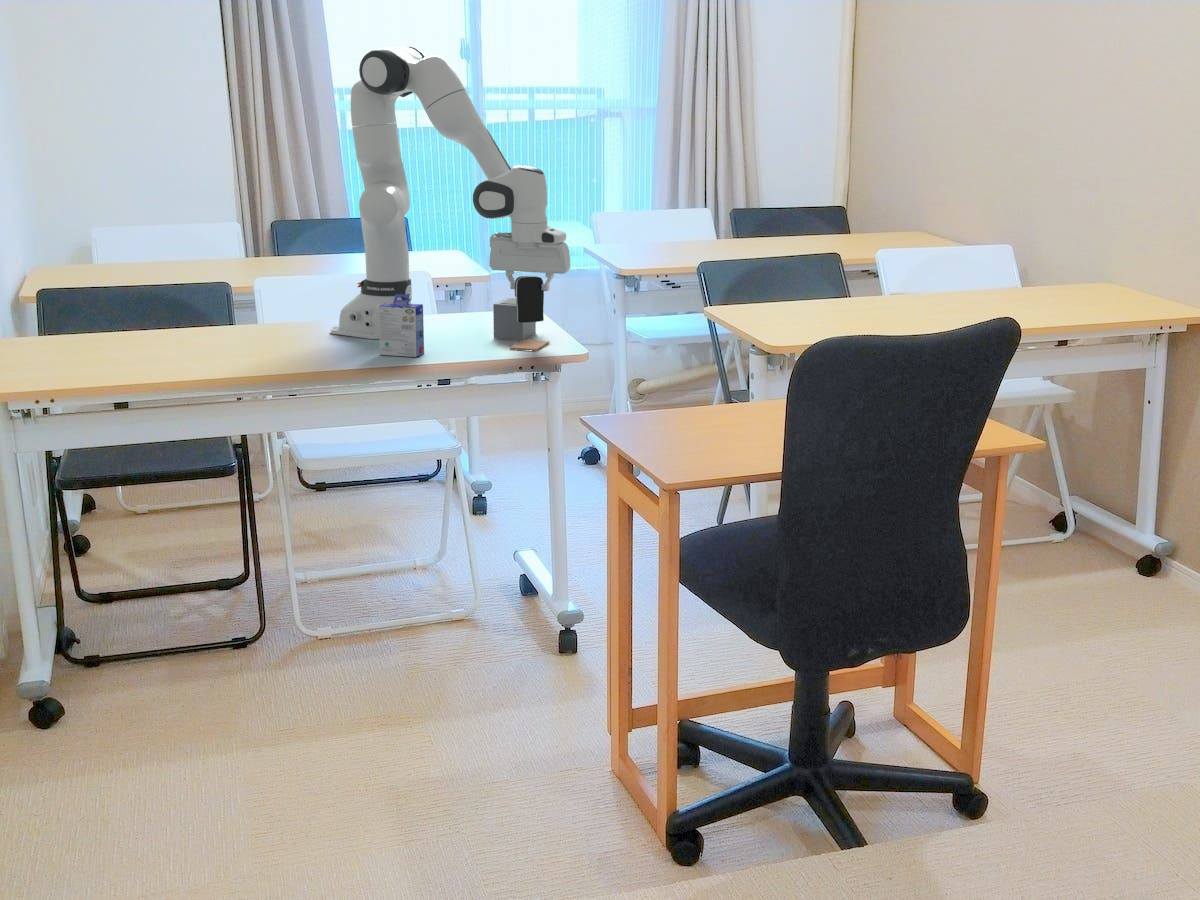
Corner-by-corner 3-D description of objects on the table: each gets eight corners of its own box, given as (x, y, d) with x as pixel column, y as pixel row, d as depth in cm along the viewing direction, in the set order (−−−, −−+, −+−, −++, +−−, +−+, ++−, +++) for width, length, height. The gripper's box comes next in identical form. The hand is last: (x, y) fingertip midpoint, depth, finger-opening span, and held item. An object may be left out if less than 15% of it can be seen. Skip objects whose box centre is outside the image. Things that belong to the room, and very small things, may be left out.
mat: (509, 349, 293) (509, 347, 293) (523, 341, 303) (523, 339, 302) (536, 351, 292) (536, 349, 291) (549, 343, 301) (549, 341, 301)
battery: (540, 318, 298) (539, 273, 295) (544, 321, 295) (544, 276, 291) (513, 320, 296) (512, 275, 292) (517, 323, 293) (516, 278, 289)
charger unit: (493, 338, 306) (493, 303, 303) (508, 330, 315) (507, 296, 313) (522, 340, 304) (522, 305, 301) (536, 332, 313) (536, 298, 311)
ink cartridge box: (425, 353, 288) (423, 294, 284) (417, 358, 283) (416, 298, 279) (387, 350, 290) (385, 292, 286) (378, 355, 285) (376, 296, 281)
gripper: (484, 233, 289) (486, 289, 293) (564, 236, 283) (564, 294, 287) (494, 230, 294) (495, 285, 298) (572, 233, 289) (572, 290, 293)
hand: (529, 289), depth 293 cm, fingers closed on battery, 7 cm apart
